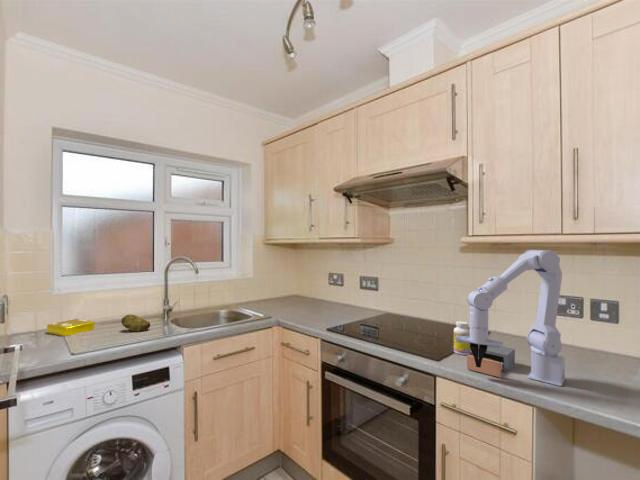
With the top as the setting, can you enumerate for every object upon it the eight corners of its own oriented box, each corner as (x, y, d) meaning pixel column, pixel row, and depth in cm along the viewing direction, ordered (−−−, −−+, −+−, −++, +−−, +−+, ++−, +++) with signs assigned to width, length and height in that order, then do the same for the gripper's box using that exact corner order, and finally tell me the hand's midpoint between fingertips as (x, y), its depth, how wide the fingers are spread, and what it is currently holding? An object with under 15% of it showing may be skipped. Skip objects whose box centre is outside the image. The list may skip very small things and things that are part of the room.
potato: (140, 333, 162) (140, 317, 162) (118, 331, 165) (118, 315, 165) (152, 329, 170) (152, 313, 171) (130, 327, 173) (130, 312, 173)
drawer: (508, 369, 119) (508, 356, 119) (500, 377, 112) (500, 363, 112) (476, 361, 127) (476, 349, 127) (467, 368, 120) (467, 355, 120)
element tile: (96, 329, 170) (96, 320, 170) (64, 337, 156) (64, 327, 156) (77, 326, 175) (77, 317, 175) (44, 333, 161) (45, 324, 161)
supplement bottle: (456, 349, 143) (456, 319, 143) (472, 352, 139) (472, 322, 139) (451, 353, 138) (451, 322, 138) (468, 356, 134) (468, 325, 134)
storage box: (514, 364, 125) (514, 349, 125) (507, 371, 118) (507, 355, 118) (483, 357, 133) (484, 342, 133) (475, 363, 126) (475, 348, 126)
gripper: (503, 327, 113) (502, 366, 113) (457, 321, 120) (457, 358, 120) (502, 331, 107) (502, 373, 106) (454, 325, 114) (454, 364, 114)
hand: (478, 366), depth 113 cm, fingers closed
